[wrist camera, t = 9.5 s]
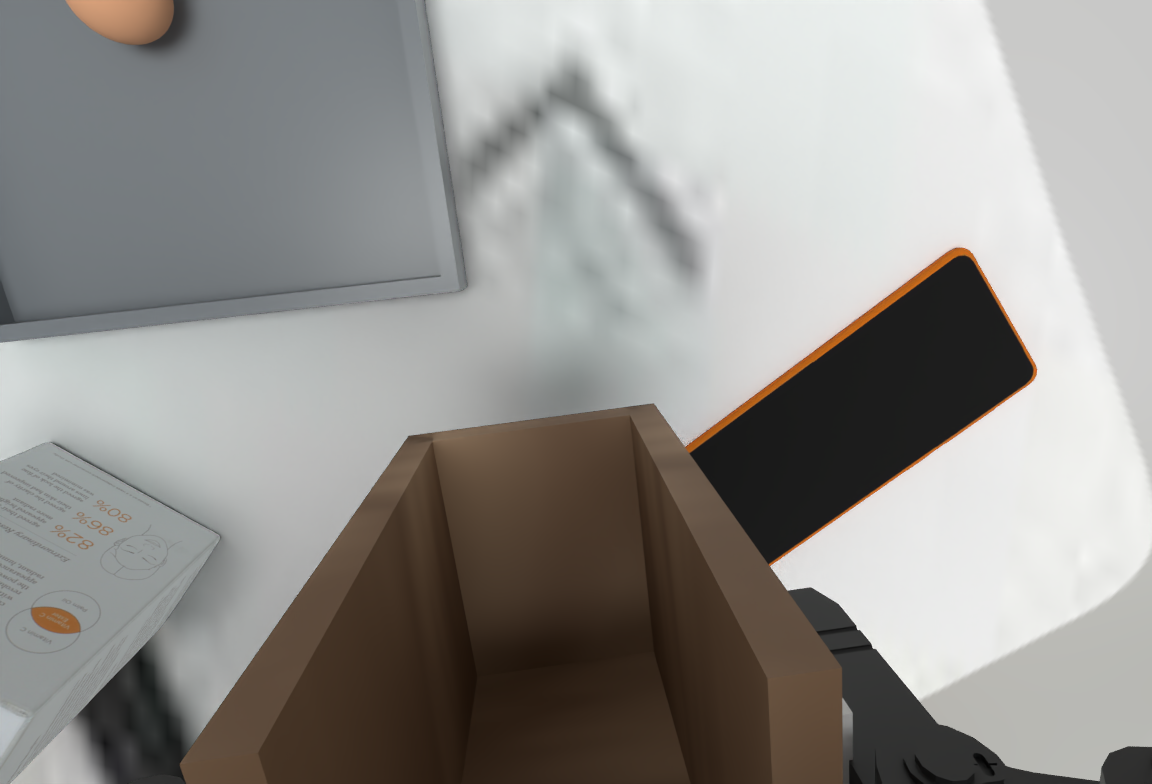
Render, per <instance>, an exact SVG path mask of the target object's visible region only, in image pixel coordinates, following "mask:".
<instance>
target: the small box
mask: <svg viewBox="0 0 1152 784" xmlns="http://www.w3.org/2000/svg"><path fill="white" fill-rule="evenodd" d="M219 540H220V535H218V534H217V533H215V532H213V531H211V530H209V529H207V528H205V527H204V526H202V525H200V524H198V523H196V522H194V521H192V520H191V519H189V518H187V517H185V516H183V515H182V514H180V513H178V512H176V511H174V510H172V509H171V508H169V507H167V506H165V505H164V504H162V503H160V502H158V501H156V500H154V499H153V498H151V497H149V496H147V495H145V494H143V493H142V492H140V491H138V490H136V489H135V488H133V487H131V486H129V485H127V484H125V483H124V482H122V481H120V480H118V479H116V478H115V477H113V476H111V475H109V474H107V473H105V472H104V471H102V470H100V469H98V468H96V467H94V466H92V465H91V464H89V463H87V462H85V461H83V460H81V459H80V458H78V457H76V456H74V455H72V454H71V453H69V452H67V451H65V450H63V449H62V448H60V447H58V446H56V445H54V444H53V443H44V444H41V445H39V446H36V447H34V448H32V449H29V450H27V451H25V452H22V453H20V454H17V455H15V456H12V457H10V458H8V459H5V460H3V461H0V784H10V783H11V782H12V781H13V780H14V779H15V778H16V777H17V776H18V775H19V774H20V773H21V772H22V771H23V770H24V768H25V767H26V766H27V765H28V764H29V763H30V762H31V761H32V760H33V759H34V758H35V757H36V756H37V755H38V754H39V753H40V752H41V751H42V750H43V749H44V748H45V747H46V746H47V745H48V744H49V743H50V742H51V741H52V740H53V739H54V738H55V737H56V736H57V735H58V734H59V733H60V732H61V731H62V730H63V729H64V728H65V727H66V726H67V725H68V724H69V723H70V722H71V721H72V720H73V719H74V717H75V716H76V715H77V714H78V713H79V712H80V711H81V710H82V709H83V708H84V707H85V706H86V705H87V704H88V703H89V701H90V700H91V699H92V698H93V697H94V696H95V695H96V694H97V693H98V692H99V691H100V690H101V689H102V688H103V687H104V686H105V685H106V684H107V683H108V682H109V681H110V680H111V679H112V678H113V677H114V675H115V674H116V673H117V672H118V671H119V670H120V669H121V668H122V667H123V666H124V665H125V664H126V663H127V662H128V661H129V660H130V659H131V658H132V657H133V656H134V655H135V654H136V653H137V652H138V651H139V650H140V649H141V648H142V647H143V646H144V644H145V643H146V642H147V641H148V640H149V639H150V638H151V637H152V636H153V635H154V634H155V633H156V632H157V631H158V630H159V629H160V628H161V627H162V625H163V624H164V623H165V621H166V620H167V618H168V617H169V616H170V614H171V613H172V611H173V610H174V608H175V607H176V605H177V604H178V602H179V601H180V600H181V598H182V597H183V595H184V594H185V592H186V590H187V589H188V587H189V586H190V584H191V583H192V581H193V580H194V578H195V577H196V575H197V574H198V572H199V571H200V569H201V568H202V566H203V565H204V563H205V562H206V560H207V559H208V557H209V556H210V554H211V553H212V551H213V550H214V548H215V546H216V545H217V543H218V542H219Z"/></svg>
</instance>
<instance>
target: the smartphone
mask: <svg viewBox="0 0 1152 784" xmlns="http://www.w3.org/2000/svg"><path fill="white" fill-rule="evenodd" d="M1036 375H1037V368H1036V365H1035V363H1034V361H1033V359H1032V358H1031V356H1030V354H1029V352H1028V351H1027V349H1026V347H1025V345H1024V344H1023V342H1022V340H1021V338H1020V336H1019V335H1018V333H1017V331H1016V329H1015V328H1014V326H1013V324H1012V322H1011V321H1010V319H1009V317H1008V315H1007V314H1006V312H1005V310H1004V308H1003V307H1002V305H1001V303H1000V301H999V299H998V298H997V296H996V294H995V292H994V291H993V289H992V287H991V285H990V284H989V282H988V280H987V278H986V277H985V275H984V273H983V271H982V270H981V268H980V266H979V265H978V262H977V261H976V259H975V257H974V255H973V254H972V253H971V252H970V251H969V250H968V249H965V248H955V249H953V250H951V251H949V252H947V253H946V254H945V255H943V256H942V257H941V258H939V259H938V260H937V261H935V262H934V263H933V264H931V265H930V266H928V267H927V268H926V269H924V270H923V271H922V272H920V273H919V274H918V275H916V276H915V277H914V278H912V279H911V280H910V281H908V282H907V283H906V284H904V285H903V286H902V287H900V288H899V289H898V290H896V291H895V292H893V293H892V294H891V295H889V296H888V297H887V298H885V299H884V300H883V301H881V302H880V303H879V304H877V305H876V306H875V307H873V308H872V309H871V310H869V311H868V312H867V313H865V314H864V315H863V316H861V317H860V318H858V319H857V320H856V321H854V322H853V323H852V324H850V325H849V326H848V327H846V328H845V329H844V330H842V331H841V332H840V333H838V334H837V335H836V336H834V337H833V338H832V339H830V340H829V341H828V342H826V343H825V344H823V345H822V346H821V347H819V348H818V349H817V350H815V351H814V352H813V353H811V354H810V355H809V356H807V357H806V358H805V359H803V360H802V361H801V362H799V363H798V364H797V365H795V366H794V367H793V368H791V369H790V370H788V371H787V372H786V373H784V374H783V375H782V376H780V377H779V378H778V379H776V380H775V381H774V382H772V383H771V384H770V385H768V386H767V387H766V388H764V389H763V390H762V391H760V392H759V393H758V394H756V395H755V396H753V397H752V398H751V399H749V400H748V401H747V402H745V403H744V404H743V405H741V406H740V407H739V408H737V409H736V410H735V411H733V412H732V413H731V414H729V415H728V416H727V417H725V418H724V419H723V420H721V421H720V422H718V423H717V424H716V425H714V426H713V427H712V428H710V429H709V430H708V431H706V432H705V433H704V434H702V435H701V436H700V437H698V438H697V439H696V440H694V441H693V442H692V443H690V444H689V445H688V446H686V447H685V448H686V450H687V451H688V452H689V454H690V455H691V457H692V458H693V459H694V461H695V462H696V464H697V465H698V466H699V468H700V469H701V471H702V472H703V473H704V475H705V476H706V478H707V479H708V480H709V482H710V483H711V485H712V486H713V487H714V489H715V490H716V492H717V493H718V494H719V496H720V497H721V499H722V500H723V501H724V503H725V504H726V506H727V507H728V508H729V510H730V511H731V513H732V514H733V515H734V517H735V518H736V520H737V521H738V523H739V524H740V525H741V527H742V528H743V530H744V531H745V532H746V534H747V535H748V537H749V538H750V539H751V541H752V542H753V544H754V545H755V546H756V548H757V549H758V551H759V552H760V553H761V555H762V556H763V558H764V559H765V560H766V562H767V563H768V565H769V566H771V565H772V564H773V563H775V562H776V561H778V560H779V559H781V558H782V557H783V556H785V555H786V554H788V553H789V552H791V551H792V550H793V549H795V548H796V547H798V546H799V545H801V544H802V543H803V542H805V541H806V540H808V539H809V538H811V537H812V536H813V535H815V534H816V533H818V532H819V531H821V530H822V529H823V528H825V527H826V526H828V525H829V524H831V523H832V522H833V521H835V520H836V519H838V518H839V517H841V516H842V515H843V514H845V513H846V512H848V511H849V510H851V509H852V508H853V507H855V506H856V505H858V504H859V503H861V502H862V501H863V500H865V499H866V498H868V497H869V496H871V495H872V494H873V493H875V492H876V491H878V490H879V489H881V488H882V487H883V486H885V485H886V484H888V483H889V482H891V481H892V480H893V479H895V478H896V477H898V476H899V475H901V474H902V473H903V472H905V471H906V470H908V469H910V468H911V467H913V466H914V465H916V464H917V463H918V462H920V461H921V460H923V459H924V458H926V457H927V456H928V455H929V454H931V453H932V452H933V451H935V450H936V449H938V448H939V447H941V446H942V445H943V444H945V443H947V442H948V441H950V440H951V439H953V438H954V437H956V436H957V435H958V434H960V433H961V432H963V431H964V430H966V429H967V428H968V427H970V426H971V425H973V424H974V423H976V422H977V421H978V420H980V419H981V418H983V417H984V416H986V415H987V414H988V413H990V412H991V411H993V410H994V409H995V408H996V407H998V406H999V405H1000V404H1002V403H1003V402H1005V401H1006V400H1008V399H1009V398H1010V397H1012V396H1013V395H1015V394H1016V393H1018V392H1019V391H1020V390H1022V389H1023V388H1025V387H1026V386H1028V385H1029V384H1030V383H1031V382H1032V381H1033V380H1034V379H1035V377H1036Z"/></svg>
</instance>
